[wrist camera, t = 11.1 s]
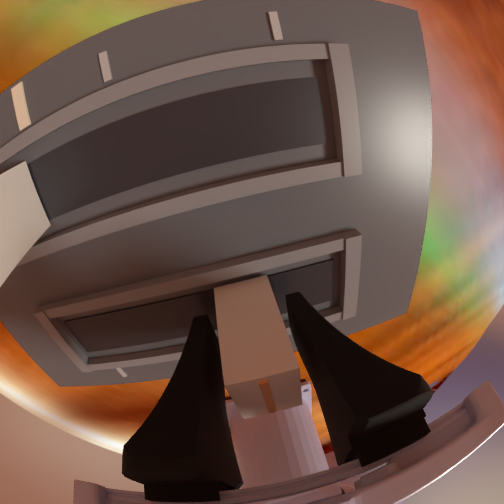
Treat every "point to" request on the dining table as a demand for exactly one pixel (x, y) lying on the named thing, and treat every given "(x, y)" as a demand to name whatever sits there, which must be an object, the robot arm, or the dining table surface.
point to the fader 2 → (256, 349)
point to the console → (217, 177)
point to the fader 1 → (18, 217)
